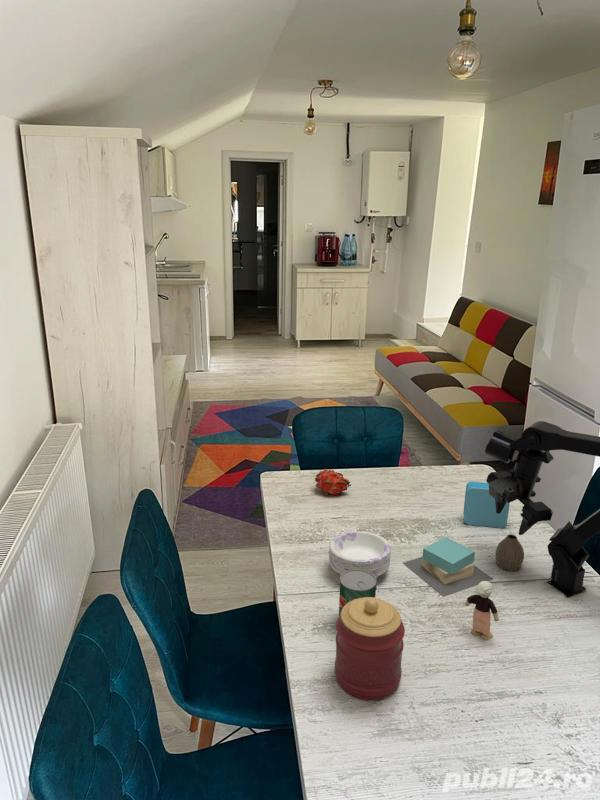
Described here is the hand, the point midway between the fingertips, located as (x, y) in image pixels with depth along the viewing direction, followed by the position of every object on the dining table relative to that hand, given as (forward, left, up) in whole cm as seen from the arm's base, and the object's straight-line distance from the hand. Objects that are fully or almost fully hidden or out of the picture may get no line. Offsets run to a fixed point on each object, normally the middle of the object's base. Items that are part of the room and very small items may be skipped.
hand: (509, 523), depth 154 cm
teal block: (+4, +16, -8) cm, 18 cm away
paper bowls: (+14, +36, -12) cm, 40 cm away
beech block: (+4, +16, -11) cm, 20 cm away
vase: (-1, 0, -12) cm, 12 cm away
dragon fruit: (+56, +19, -12) cm, 60 cm away
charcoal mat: (+4, +16, -12) cm, 20 cm away
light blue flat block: (+19, -11, -12) cm, 25 cm away
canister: (-17, +54, -12) cm, 58 cm away
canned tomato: (-2, +47, -12) cm, 49 cm away
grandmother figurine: (-17, +25, -12) cm, 33 cm away
